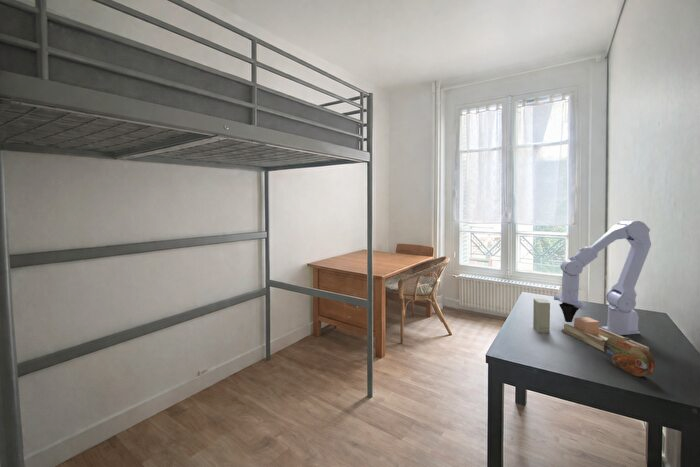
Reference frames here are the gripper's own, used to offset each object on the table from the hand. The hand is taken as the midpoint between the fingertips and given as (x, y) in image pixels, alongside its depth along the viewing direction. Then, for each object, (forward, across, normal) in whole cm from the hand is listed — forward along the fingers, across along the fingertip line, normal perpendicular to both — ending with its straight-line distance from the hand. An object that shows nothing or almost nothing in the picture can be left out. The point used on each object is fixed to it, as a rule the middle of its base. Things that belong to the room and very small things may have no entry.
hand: (568, 321), depth 137 cm
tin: (+3, +33, -10) cm, 35 cm away
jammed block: (+1, +8, 0) cm, 9 cm away
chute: (+2, +15, 0) cm, 16 cm away
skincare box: (+3, 0, -13) cm, 13 cm away
